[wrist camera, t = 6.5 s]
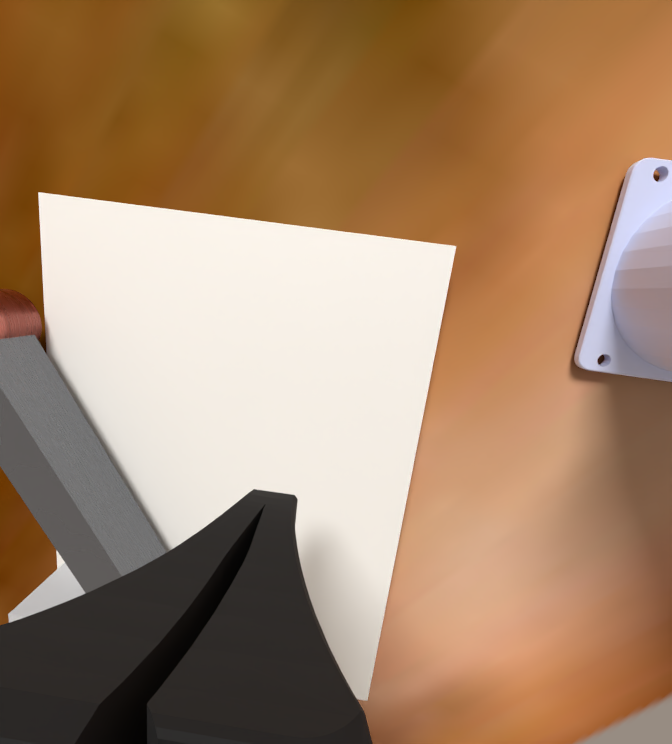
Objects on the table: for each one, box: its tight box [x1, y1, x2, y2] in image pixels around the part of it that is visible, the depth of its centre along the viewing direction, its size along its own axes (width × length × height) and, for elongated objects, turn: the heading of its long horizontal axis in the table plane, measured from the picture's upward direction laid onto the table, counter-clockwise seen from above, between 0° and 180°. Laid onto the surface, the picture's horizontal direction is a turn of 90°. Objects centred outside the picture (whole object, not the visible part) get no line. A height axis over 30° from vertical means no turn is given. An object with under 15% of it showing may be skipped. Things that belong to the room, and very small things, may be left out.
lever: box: [0, 289, 167, 593], centre depth 14 cm, size 21×4×5 cm, turn 24°
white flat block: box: [8, 192, 456, 701], centre depth 15 cm, size 16×22×4 cm
